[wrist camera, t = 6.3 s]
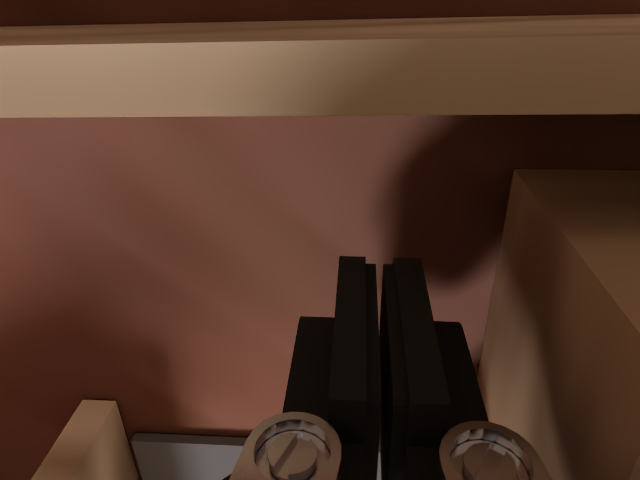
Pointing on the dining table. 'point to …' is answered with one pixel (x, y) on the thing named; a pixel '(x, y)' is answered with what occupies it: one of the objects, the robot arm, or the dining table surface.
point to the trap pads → (189, 456)
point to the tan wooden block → (568, 322)
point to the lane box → (305, 100)
